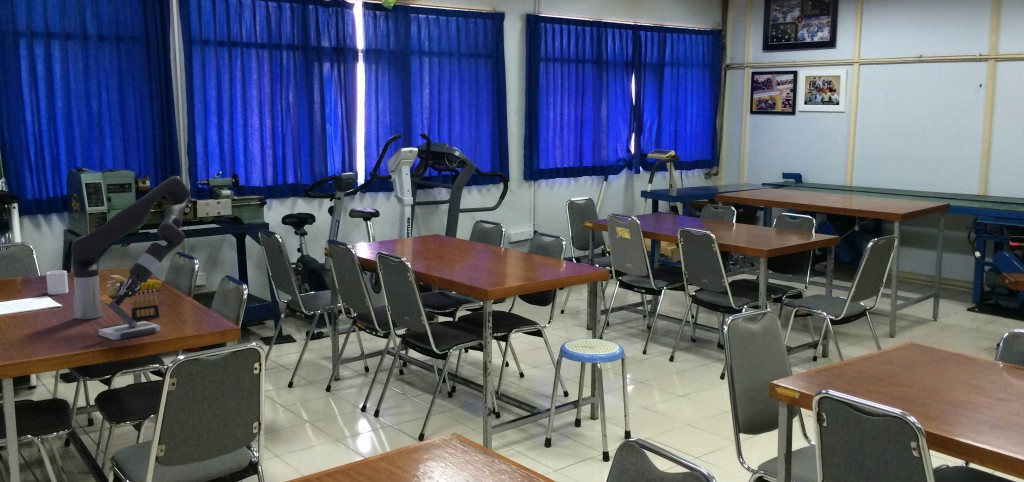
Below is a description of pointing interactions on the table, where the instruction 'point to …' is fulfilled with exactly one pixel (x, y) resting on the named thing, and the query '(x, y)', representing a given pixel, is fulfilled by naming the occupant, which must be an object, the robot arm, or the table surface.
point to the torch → (115, 284)
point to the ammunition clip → (144, 306)
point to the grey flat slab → (125, 329)
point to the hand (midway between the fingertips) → (115, 304)
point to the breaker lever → (118, 310)
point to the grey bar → (115, 325)
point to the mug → (57, 282)
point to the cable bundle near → (138, 333)
